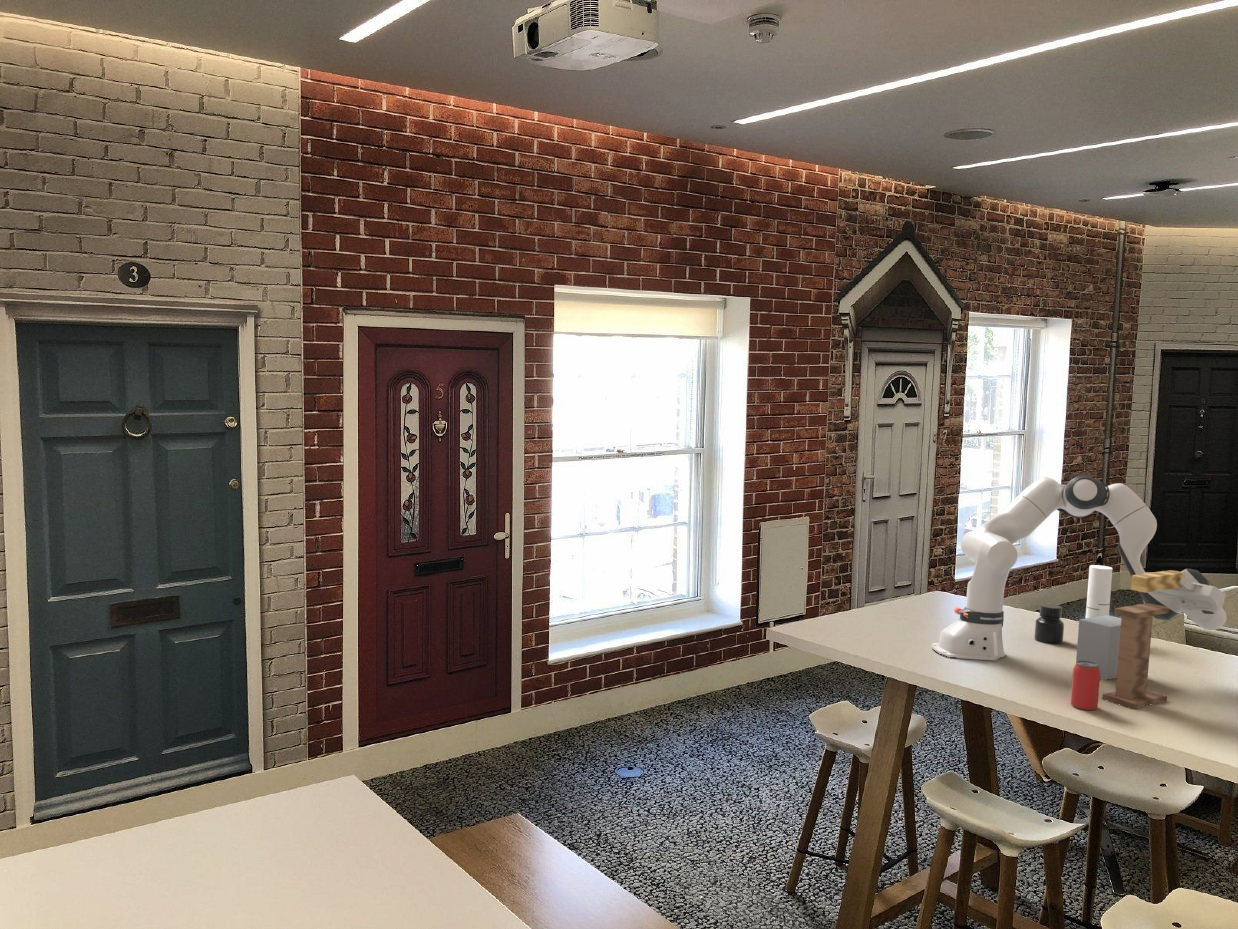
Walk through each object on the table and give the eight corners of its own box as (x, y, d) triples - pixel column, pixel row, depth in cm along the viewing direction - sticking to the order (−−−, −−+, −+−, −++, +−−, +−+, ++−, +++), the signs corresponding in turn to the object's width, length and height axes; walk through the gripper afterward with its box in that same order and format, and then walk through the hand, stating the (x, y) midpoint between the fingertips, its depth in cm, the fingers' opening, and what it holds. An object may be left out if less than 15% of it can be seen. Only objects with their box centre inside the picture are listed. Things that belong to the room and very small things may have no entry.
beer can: (1065, 702, 267) (1069, 659, 266) (1088, 702, 268) (1092, 660, 267) (1079, 711, 261) (1082, 667, 260) (1102, 711, 261) (1106, 667, 260)
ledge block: (1102, 665, 305) (1106, 614, 304) (1133, 674, 297) (1137, 622, 296) (1075, 670, 298) (1079, 619, 297) (1106, 680, 290) (1110, 627, 288)
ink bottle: (1069, 643, 331) (1072, 608, 330) (1051, 645, 327) (1053, 610, 326) (1045, 636, 340) (1048, 602, 339) (1027, 638, 336) (1030, 604, 335)
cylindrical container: (1109, 641, 335) (1115, 569, 333) (1087, 640, 336) (1092, 568, 334) (1103, 636, 342) (1109, 566, 340) (1081, 634, 343) (1087, 564, 341)
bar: (1169, 584, 279) (1170, 570, 279) (1183, 586, 275) (1184, 572, 275) (1130, 589, 269) (1132, 575, 269) (1145, 592, 266) (1146, 578, 265)
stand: (1135, 691, 279) (1142, 602, 277) (1166, 700, 272) (1174, 608, 270) (1102, 699, 271) (1109, 607, 269) (1133, 709, 263) (1141, 614, 261)
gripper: (1159, 581, 291) (1138, 561, 284) (1231, 595, 274) (1210, 574, 267) (1152, 600, 290) (1130, 580, 283) (1224, 616, 273) (1202, 595, 266)
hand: (1169, 577), depth 275 cm, fingers closed on bar, 4 cm apart
